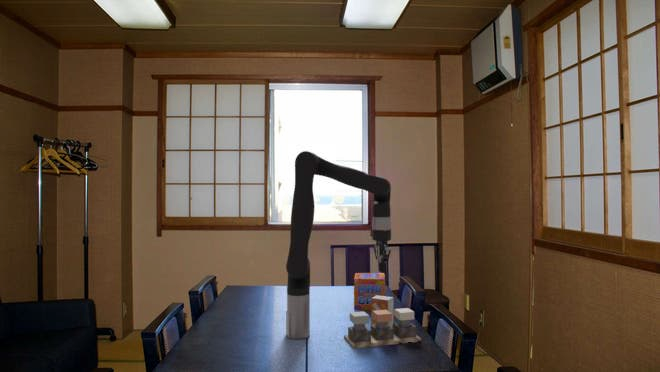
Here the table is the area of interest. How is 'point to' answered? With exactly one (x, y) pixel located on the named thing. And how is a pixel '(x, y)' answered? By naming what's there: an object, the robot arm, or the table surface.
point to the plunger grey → (359, 320)
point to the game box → (367, 289)
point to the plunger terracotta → (382, 318)
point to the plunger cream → (404, 316)
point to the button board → (381, 336)
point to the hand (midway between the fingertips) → (381, 271)
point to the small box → (382, 306)
